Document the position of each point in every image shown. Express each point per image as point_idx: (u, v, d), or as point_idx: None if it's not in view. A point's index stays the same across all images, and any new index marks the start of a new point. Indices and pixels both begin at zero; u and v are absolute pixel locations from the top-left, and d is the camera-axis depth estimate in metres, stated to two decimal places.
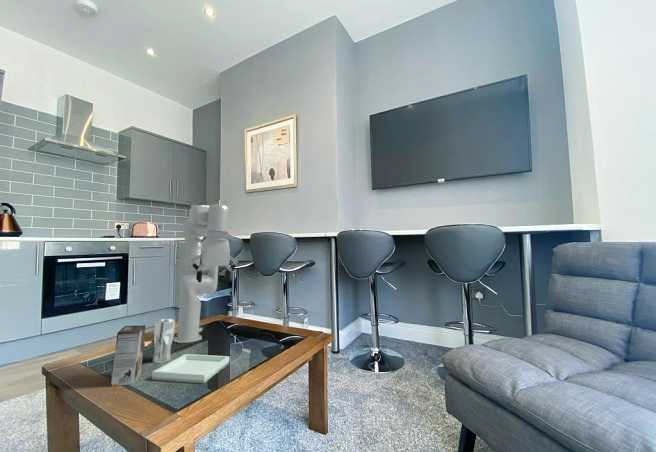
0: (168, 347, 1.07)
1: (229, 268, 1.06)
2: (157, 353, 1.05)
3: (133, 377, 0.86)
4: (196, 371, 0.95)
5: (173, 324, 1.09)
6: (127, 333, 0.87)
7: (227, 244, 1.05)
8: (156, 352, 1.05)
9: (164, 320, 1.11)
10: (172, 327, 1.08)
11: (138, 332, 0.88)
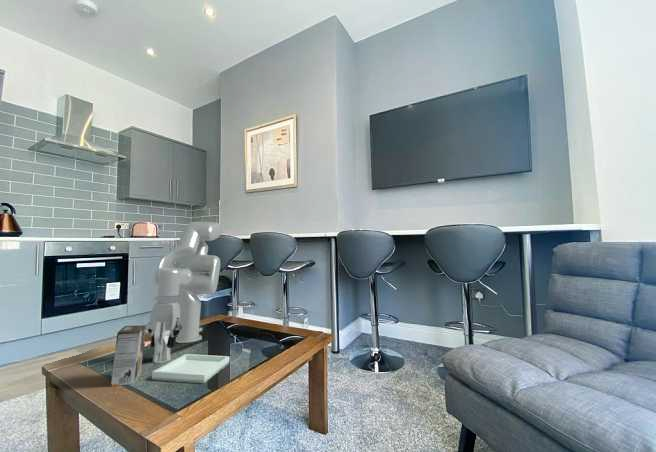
0: None
1: None
2: (157, 353, 1.05)
3: (133, 377, 0.86)
4: (196, 371, 0.95)
5: None
6: (127, 333, 0.87)
7: None
8: (156, 352, 1.05)
9: None
10: None
11: (138, 332, 0.88)
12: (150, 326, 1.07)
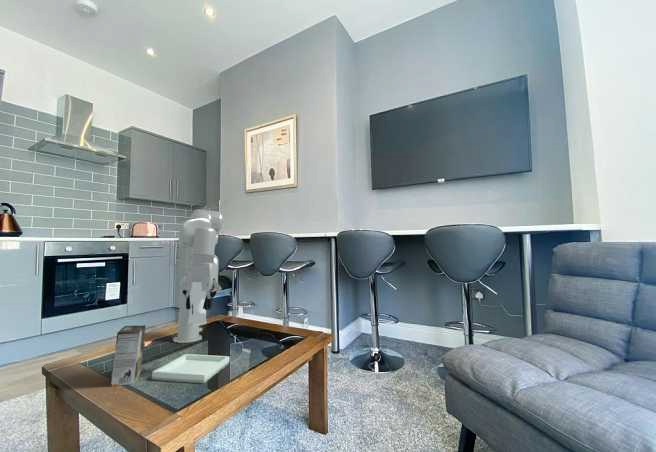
0: (204, 309, 1.00)
1: None
2: (193, 315, 0.98)
3: (133, 377, 0.86)
4: (196, 371, 0.95)
5: None
6: (127, 333, 0.87)
7: None
8: (192, 314, 0.98)
9: None
10: None
11: (138, 332, 0.88)
12: (185, 287, 0.99)
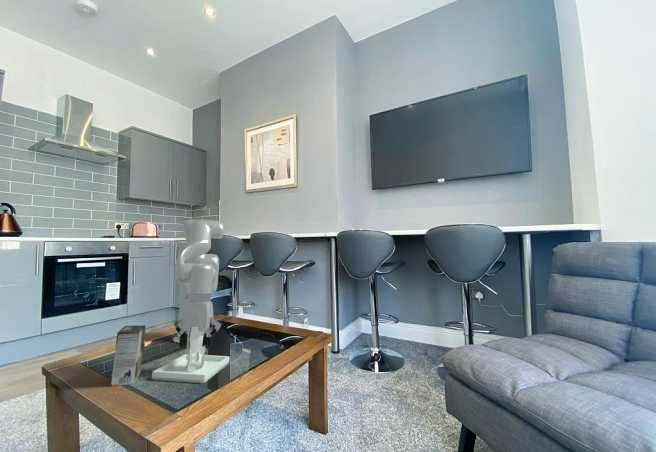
0: (202, 354, 0.97)
1: None
2: (190, 361, 0.96)
3: (133, 377, 0.86)
4: (196, 371, 0.95)
5: None
6: (127, 333, 0.87)
7: None
8: (189, 360, 0.96)
9: None
10: None
11: (138, 332, 0.88)
12: (182, 327, 0.97)
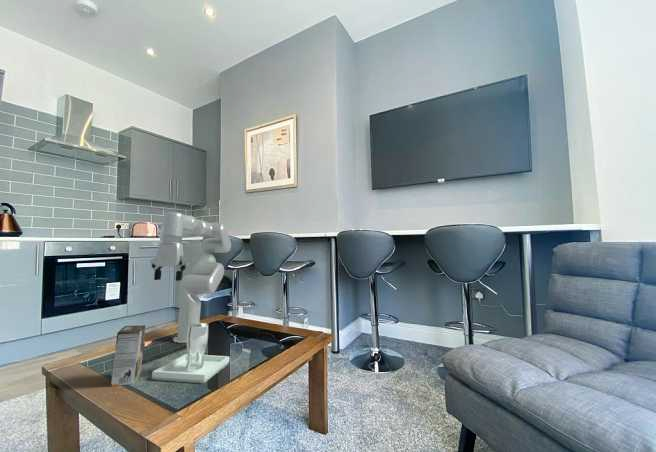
0: (202, 354, 0.97)
1: None
2: (190, 361, 0.96)
3: (133, 377, 0.86)
4: (196, 371, 0.95)
5: (207, 329, 0.99)
6: (127, 333, 0.87)
7: None
8: (189, 360, 0.96)
9: (196, 324, 1.02)
10: (206, 332, 0.99)
11: (138, 332, 0.88)
12: (156, 262, 1.16)
